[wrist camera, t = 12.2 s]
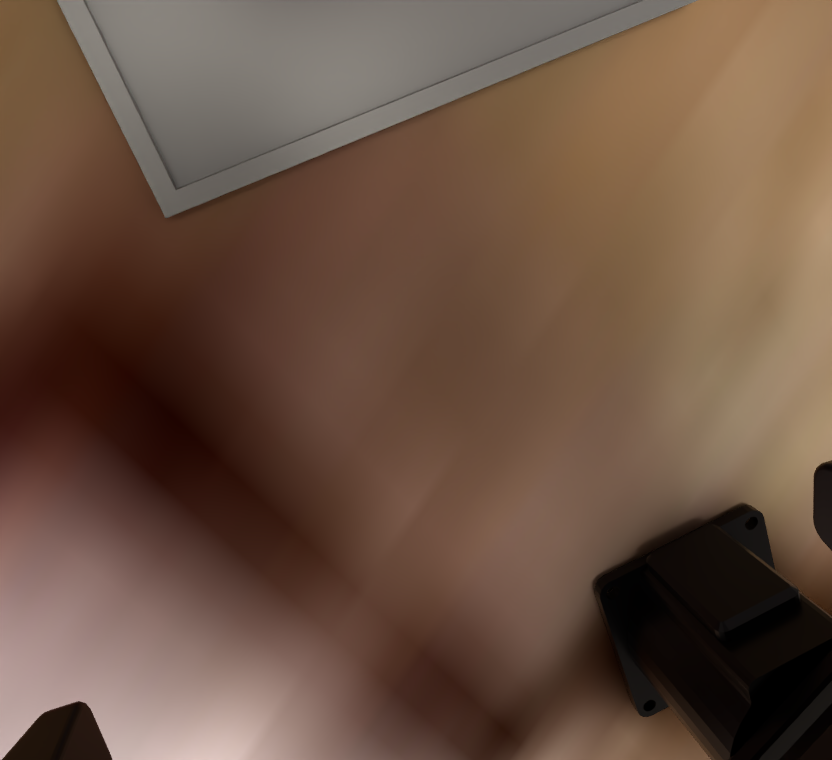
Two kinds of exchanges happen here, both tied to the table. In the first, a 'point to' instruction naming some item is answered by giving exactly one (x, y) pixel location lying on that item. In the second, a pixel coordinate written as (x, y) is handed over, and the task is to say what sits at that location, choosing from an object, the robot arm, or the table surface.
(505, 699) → the table surface
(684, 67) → the table surface
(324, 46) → the tray
